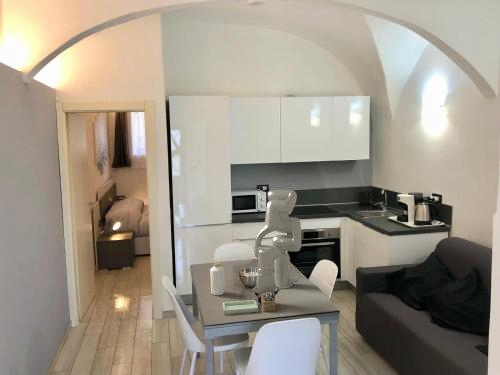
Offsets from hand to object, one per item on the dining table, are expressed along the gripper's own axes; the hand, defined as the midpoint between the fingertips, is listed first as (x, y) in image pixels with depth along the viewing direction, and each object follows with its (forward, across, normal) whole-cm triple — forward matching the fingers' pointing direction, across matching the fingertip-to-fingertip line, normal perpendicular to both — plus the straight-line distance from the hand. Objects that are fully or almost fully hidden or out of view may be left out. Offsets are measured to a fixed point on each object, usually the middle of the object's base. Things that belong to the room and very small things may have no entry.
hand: (266, 303), depth 247 cm
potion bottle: (+1, +25, -23) cm, 34 cm away
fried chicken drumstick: (+1, 0, +4) cm, 4 cm away
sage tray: (+1, +15, +4) cm, 16 cm away
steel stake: (+1, 0, +7) cm, 7 cm away
